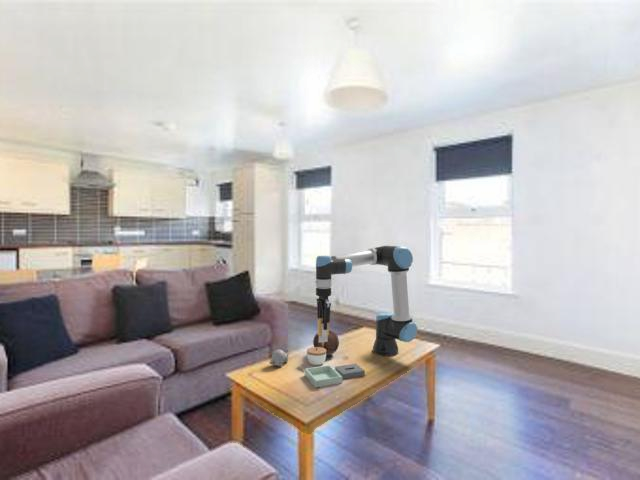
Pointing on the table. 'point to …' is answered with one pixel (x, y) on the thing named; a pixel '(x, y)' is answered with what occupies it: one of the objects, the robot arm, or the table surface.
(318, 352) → the lidded jar
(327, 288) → the robot arm
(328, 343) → the wooden sphere
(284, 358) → the toy rhinoceros
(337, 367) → the socket block
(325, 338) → the fuse
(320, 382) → the parts tray
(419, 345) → the table surface
